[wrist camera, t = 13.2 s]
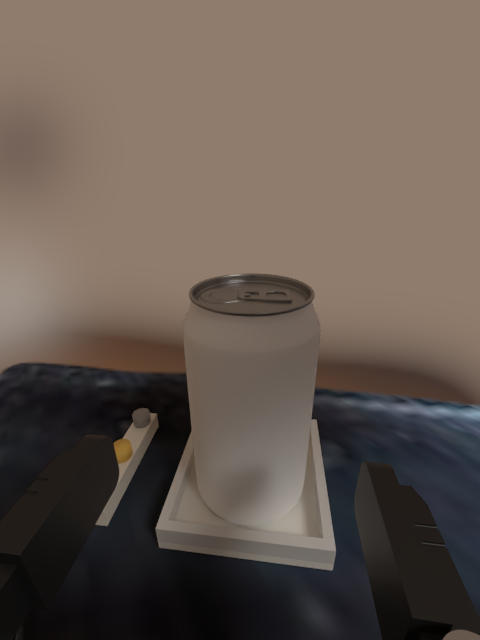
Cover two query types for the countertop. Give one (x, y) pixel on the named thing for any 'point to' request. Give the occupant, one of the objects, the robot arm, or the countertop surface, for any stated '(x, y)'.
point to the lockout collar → (252, 541)
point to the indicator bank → (130, 456)
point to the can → (251, 392)
